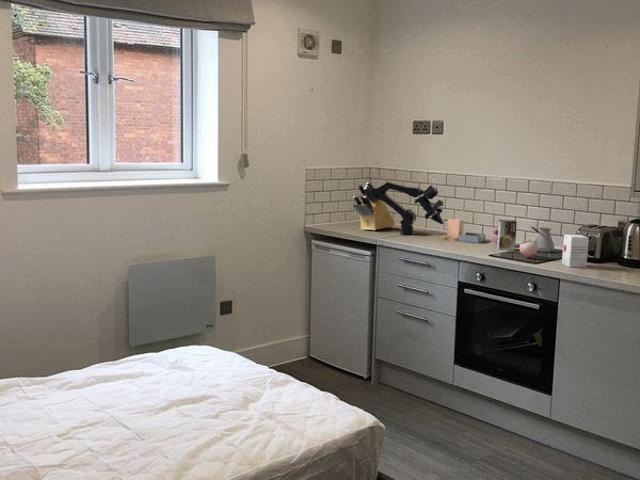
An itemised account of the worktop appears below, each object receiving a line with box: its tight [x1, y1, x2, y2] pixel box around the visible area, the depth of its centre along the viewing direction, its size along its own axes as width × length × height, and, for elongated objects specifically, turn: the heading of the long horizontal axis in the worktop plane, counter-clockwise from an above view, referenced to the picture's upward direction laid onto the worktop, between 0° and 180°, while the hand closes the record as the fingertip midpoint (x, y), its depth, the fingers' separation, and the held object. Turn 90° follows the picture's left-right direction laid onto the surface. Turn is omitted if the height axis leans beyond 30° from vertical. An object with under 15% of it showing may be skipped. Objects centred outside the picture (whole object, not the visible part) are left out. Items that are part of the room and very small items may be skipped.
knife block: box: [352, 181, 395, 231], centre depth 460 cm, size 11×35×31 cm, turn 145°
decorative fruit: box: [519, 239, 538, 259], centre depth 369 cm, size 9×8×10 cm
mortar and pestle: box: [491, 227, 498, 245], centre depth 410 cm, size 12×12×12 cm
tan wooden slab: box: [438, 233, 459, 242], centre depth 430 cm, size 12×14×2 cm
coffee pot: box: [528, 226, 555, 253], centre depth 389 cm, size 21×12×15 cm, turn 135°
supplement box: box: [561, 234, 590, 268], centre depth 351 cm, size 9×9×15 cm
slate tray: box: [458, 231, 486, 244], centre depth 425 cm, size 12×14×4 cm
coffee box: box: [496, 219, 518, 251], centre depth 397 cm, size 9×6×16 cm
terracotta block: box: [446, 218, 464, 237], centre depth 429 cm, size 7×7×10 cm
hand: (442, 223), depth 432 cm, fingers closed
